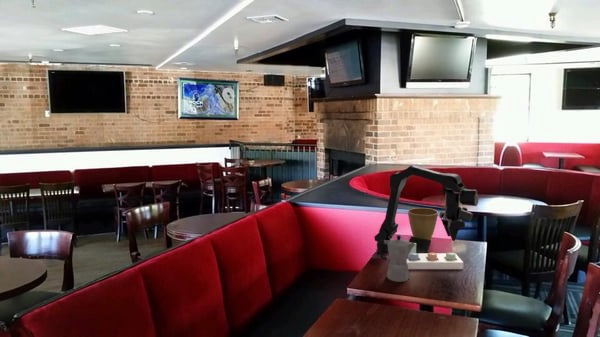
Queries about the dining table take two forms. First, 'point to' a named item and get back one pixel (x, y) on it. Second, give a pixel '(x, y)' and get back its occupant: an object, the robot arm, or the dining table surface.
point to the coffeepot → (397, 258)
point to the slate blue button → (413, 256)
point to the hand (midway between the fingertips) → (451, 238)
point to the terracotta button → (432, 256)
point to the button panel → (433, 261)
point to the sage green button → (450, 256)
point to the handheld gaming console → (420, 244)
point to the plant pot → (422, 222)
